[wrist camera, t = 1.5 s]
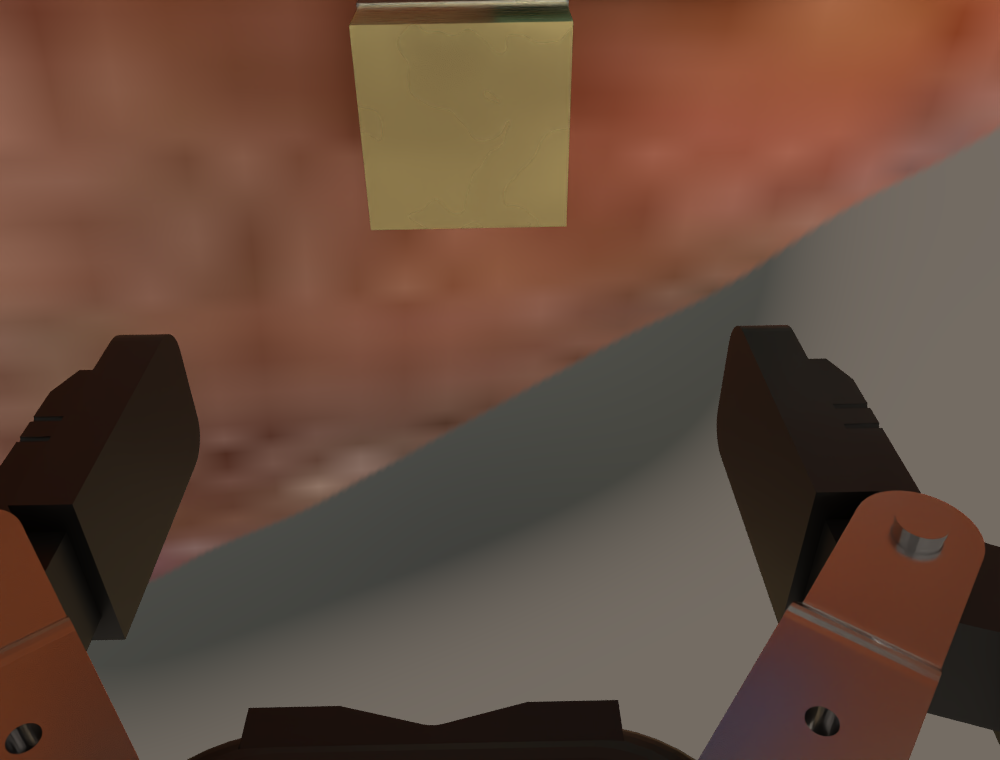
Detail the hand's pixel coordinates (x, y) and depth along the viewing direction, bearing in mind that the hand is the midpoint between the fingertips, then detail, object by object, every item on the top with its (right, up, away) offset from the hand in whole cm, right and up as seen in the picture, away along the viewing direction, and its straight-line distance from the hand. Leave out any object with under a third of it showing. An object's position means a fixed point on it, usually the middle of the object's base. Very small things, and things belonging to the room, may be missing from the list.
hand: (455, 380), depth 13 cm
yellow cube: (0, +9, +12) cm, 15 cm away
